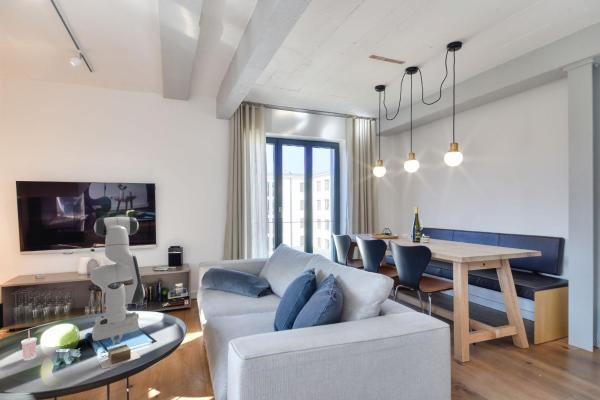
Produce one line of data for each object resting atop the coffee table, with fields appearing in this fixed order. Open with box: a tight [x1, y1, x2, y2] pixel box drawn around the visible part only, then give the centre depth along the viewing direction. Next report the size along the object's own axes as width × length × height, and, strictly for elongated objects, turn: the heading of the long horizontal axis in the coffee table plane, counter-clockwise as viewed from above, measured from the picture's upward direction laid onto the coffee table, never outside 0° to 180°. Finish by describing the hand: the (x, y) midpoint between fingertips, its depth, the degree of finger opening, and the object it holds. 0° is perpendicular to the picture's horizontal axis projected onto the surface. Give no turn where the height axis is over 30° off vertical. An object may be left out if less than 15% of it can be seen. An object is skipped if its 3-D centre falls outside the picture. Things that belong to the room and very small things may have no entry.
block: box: [107, 343, 131, 364], centre depth 159 cm, size 4×8×8 cm
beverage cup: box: [20, 329, 38, 361], centre depth 162 cm, size 6×6×14 cm
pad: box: [98, 350, 141, 370], centre depth 158 cm, size 9×16×1 cm, turn 131°
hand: (116, 344), depth 163 cm, fingers closed
